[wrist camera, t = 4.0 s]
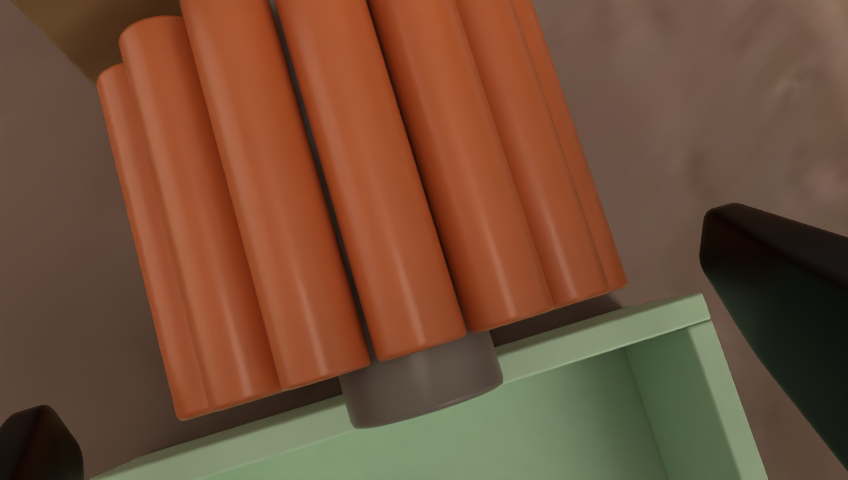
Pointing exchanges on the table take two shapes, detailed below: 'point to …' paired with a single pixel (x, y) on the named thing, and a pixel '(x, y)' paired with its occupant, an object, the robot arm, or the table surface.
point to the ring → (345, 185)
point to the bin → (520, 417)
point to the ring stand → (381, 381)
